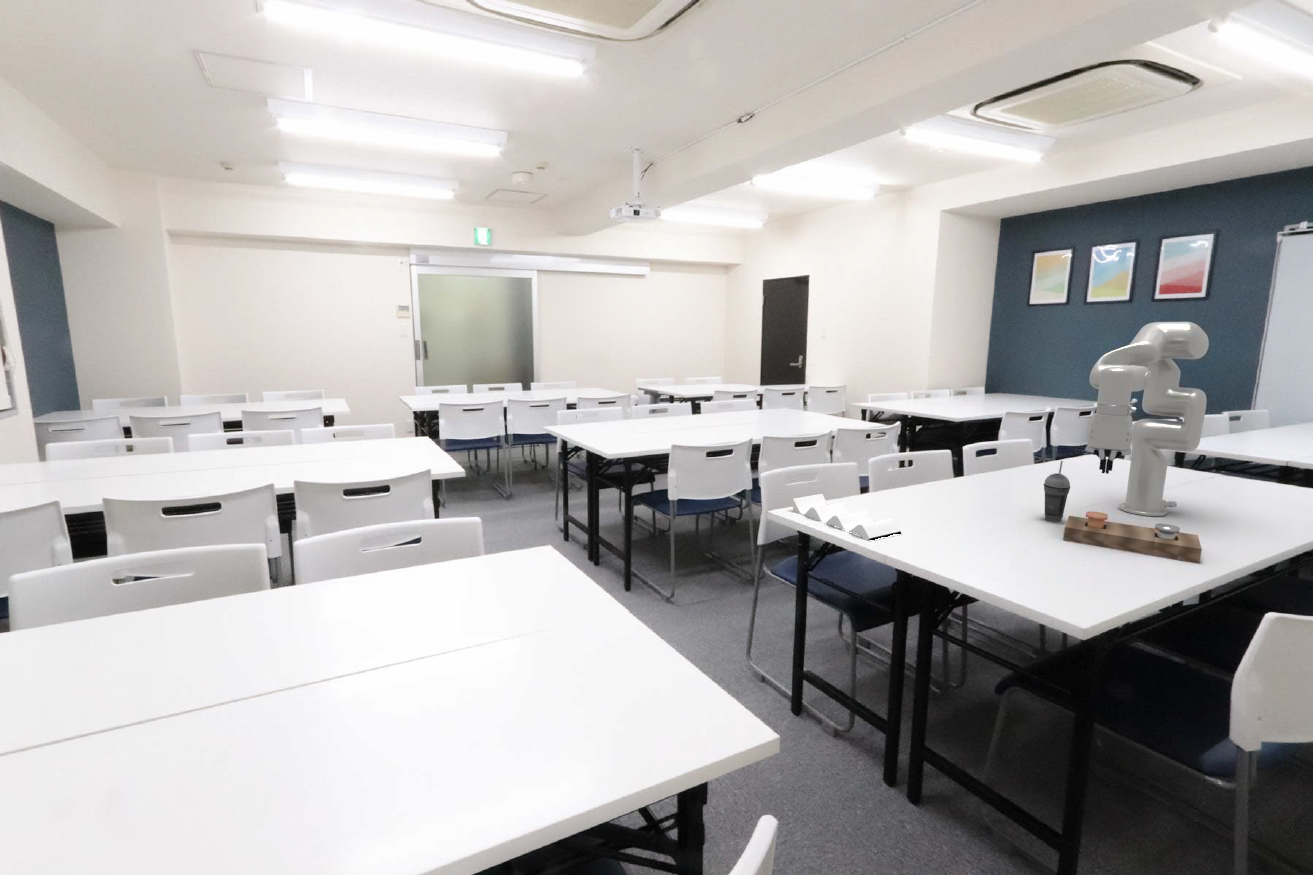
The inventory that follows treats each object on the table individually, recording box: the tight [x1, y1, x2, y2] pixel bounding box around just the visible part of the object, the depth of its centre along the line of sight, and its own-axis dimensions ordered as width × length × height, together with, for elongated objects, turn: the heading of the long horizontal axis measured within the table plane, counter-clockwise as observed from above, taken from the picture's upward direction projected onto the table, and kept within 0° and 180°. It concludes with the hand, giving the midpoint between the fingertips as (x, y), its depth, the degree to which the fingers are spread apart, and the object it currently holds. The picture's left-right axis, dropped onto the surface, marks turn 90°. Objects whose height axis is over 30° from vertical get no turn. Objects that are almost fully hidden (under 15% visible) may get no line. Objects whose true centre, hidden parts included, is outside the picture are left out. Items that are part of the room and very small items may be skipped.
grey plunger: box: [1154, 523, 1181, 540], centre depth 167 cm, size 5×5×6 cm
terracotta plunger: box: [1085, 511, 1109, 529], centre depth 177 cm, size 5×5×6 cm
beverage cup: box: [1043, 460, 1071, 524], centre depth 193 cm, size 7×7×20 cm
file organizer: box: [792, 493, 902, 541], centre depth 194 cm, size 13×35×5 cm, turn 28°
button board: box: [1062, 515, 1203, 564], centre depth 173 cm, size 30×14×4 cm, turn 52°
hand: (1105, 472), depth 176 cm, fingers closed
